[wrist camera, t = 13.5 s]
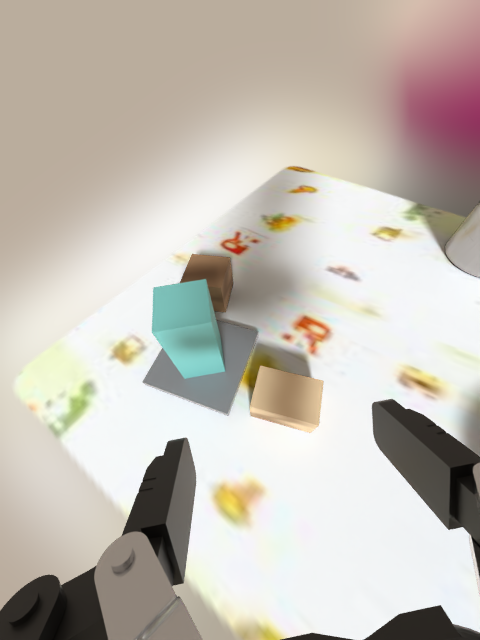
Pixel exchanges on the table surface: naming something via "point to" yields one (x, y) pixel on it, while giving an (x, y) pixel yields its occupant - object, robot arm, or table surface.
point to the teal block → (188, 328)
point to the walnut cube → (212, 277)
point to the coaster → (212, 387)
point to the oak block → (287, 399)
